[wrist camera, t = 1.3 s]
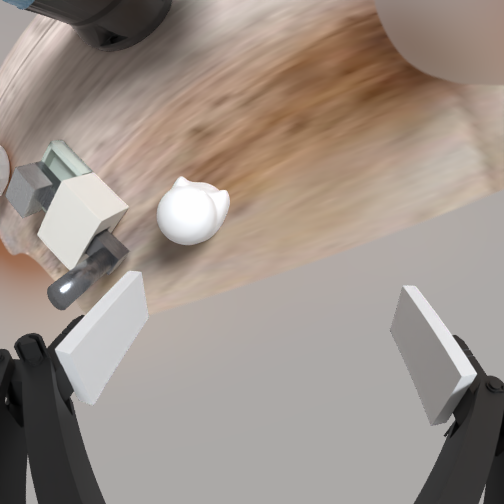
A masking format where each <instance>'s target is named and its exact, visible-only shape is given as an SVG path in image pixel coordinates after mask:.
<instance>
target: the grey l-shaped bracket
mask: <svg viewBox="0 0 504 504" xmlns="http://www.w3.org/2000/svg"><path fill="white" fill-rule="evenodd" d="M35 164H36V165H37V166H38V168H39V169H40V170H41V171H42V172H43V173H44V175H45V176H46V177H47V178H48V179H49V180H50V181H51V183H52V184H53V185H52V187H51V189H50V191H49V193H48V195H47V198H46V200H45V202H44V204H43V207H44V208H45V210H46V211H48V209H49V206H50V204H51V202H52V200H53V198H54V196H55V194H56V192H57V190H58V188H59V186H60V184H61V181H60V180H59V179H58V178H57V177H56V176H55V174H54V173H53V172H52V171H51V170H50V169H49V168H48V167H47V165H46V164H45V163H44V162H43V161H41V162H36V163H35ZM85 253H86V254H87V255H88V256H89V257H88V258H86V259H85V260H84V261H82V262H81V263H79V264H78V265H77V266H75V267H74V268H73V269H71V270H70V271H69V272H67V273H66V274H65V275H63V276H62V277H61V278H59V279H58V280H57V281H55V282H54V283H53V284H52V285H51V286H49V287H48V290H47V294H48V298H49V300H50V301H51V303H52V304H53V305H54V306H55V307H56V308H57V309H59V310H65V309H66V308H67V307H68V306H69V305H70V304H71V303H73V302H74V301H75V300H76V299H77V298H78V297H79V296H80V295H81V294H82V293H84V292H85V291H86V290H87V289H88V288H89V287H90V286H91V285H93V284H94V283H95V282H96V281H97V280H98V279H99V278H100V277H102V276H103V275H104V274H105V273H107V274H108V275H109V274H110V273H112V272H113V271H114V270H115V269H116V268H117V267H118V266H119V265H120V264H121V262H122V261H123V260H124V258H125V257H126V256H127V254H128V253H129V250H128V249H127V248H126V247H125V246H124V245H123V244H122V243H121V242H120V241H119V240H117V239H116V238H115V237H114V236H113V235H112V234H111V233H110V232H109V231H108V230H107V229H105V230H103V231H101V232H99V233H98V234H96V235H95V236H94V238H93V239H92V241H91V243H90V244H89V246H88V248H87V249H86V251H85Z"/></svg>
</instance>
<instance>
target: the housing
mask: <svg viewBox="0 0 504 504" xmlns="http://www.w3.org/2000/svg"><path fill="white" fill-rule="evenodd" d="M128 208H129V207H128V206H127V205H126V204H125V203H124V202H123V201H122V200H121V199H120V198H119V197H118V196H117V195H116V194H115V193H114V192H113V191H112V190H111V189H110V188H109V187H108V186H107V185H106V184H105V183H104V182H103V181H102V180H101V179H100V178H99V177H98V176H97V175H96V174H95V173H94V172H93V173H89V174H85V175H81V176H77V177H73V178H70V179H66V180H63V181H62V182H61V184H60V186H59V188H58V190H57V192H56V194H55V196H54V198H53V200H52V202H51V204H50V206H49V209H48V211H47V213H46V215H45V218H44V220H43V222H42V224H41V227H40V229H39V232H38V234H37V235H38V236H39V238H40V239H41V240H42V241H43V242H44V243H45V244H46V246H47V247H48V248H49V249H50V250H51V251H52V252H53V253H54V254H55V255H56V257H57V258H58V259H59V260H60V261H61V262H62V263H63V264H64V265H65V266H66V267H67V268H68V269H69V270H71V269H73V268H74V267H75V266H77V265H78V264H79V263H81V262H82V261H84V260H85V259H86V258H88V257H89V256H88V255H87V254H86V253H85V251H86V249H87V248H88V246H89V244H90V243H91V241H92V239H93V238H94V236H95V235H96V234H98V233H99V232H101V231H103V230H105V229H107V230H108V231H109V232H110V233H112V231H113V230H114V228H115V227H116V225H117V224H118V222H119V221H120V219H121V218H122V216H123V215H124V213H125V212H126V211H127V209H128Z"/></svg>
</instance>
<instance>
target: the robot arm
mask: <svg viewBox="0 0 504 504" xmlns="http://www.w3.org/2000/svg"><path fill="white" fill-rule="evenodd" d="M3 1H5V2H7V3H10V4H12V5H15V6H17V8H19V9H22V10H23V9H24V10H27V11H31V12H34V13H37V14H41V15H44V16H47V17H50V18H53V19H56V20H59V21H61V22H64V23H67V24H70V25H71V26H72V27H73V29H74V30H75V31H76V33H77V34H78V35H79V37H80V38H81V39H82V40H83V41H84V42H85V43H86V44H88V45H89V46H91V47H94V48H97V49H99V50H103V51H116V50H121V49H124V48H127V47H130V46H132V45H134V44H136V43H138V42H139V41H141V40H142V39H144V38H145V37H147V36H148V35H149V34H150V33H152V32H153V31H154V30H155V29H156V28H157V27H158V26H159V24H160V23H161V22H162V21H163V19H164V18H165V16H166V15H167V13H168V11H169V9H170V7H171V4H172V0H3ZM148 318H149V315H148V309H147V304H146V298H145V292H144V285H143V279H142V272H137V271H128V272H127V273H126V274H125V275H124V276H123V277H122V278H121V279H120V280H119V281H118V282H117V283H116V284H115V285H114V286H113V287H112V288H111V289H110V290H109V291H108V292H107V293H106V294H105V295H104V296H103V297H102V298H101V299H100V300H99V301H98V302H97V304H96V305H95V306H94V307H93V308H92V309H91V310H90V311H89V312H88V313H87V314H86V315H81V316H79V317H78V318H76V319H74V320H73V321H72V322H71V323H70V324H69V325H68V326H67V328H65V329H64V330H63V331H62V334H60V335H59V336H58V337H57V338H56V339H55V340H54V341H53V342H52V343H51V345H50V346H49V347H48V348H46V346H45V343H44V341H43V339H42V336H40V335H39V334H36V333H31V334H26V335H24V336H22V337H21V338H19V339H18V340H17V342H16V343H15V345H14V348H15V350H16V352H17V354H18V356H19V358H20V360H18V359H12V357H11V355H10V353H9V351H8V350H6V349H0V504H26V469H27V455H28V458H29V464H30V469H31V474H32V479H33V484H34V488H35V492H36V496H37V500H38V504H106V503H105V501H104V499H103V496H102V494H101V491H100V489H99V486H98V484H97V481H96V478H95V476H94V473H93V471H92V468H91V465H90V462H89V459H88V456H87V453H86V450H85V447H84V443H83V440H82V436H81V433H80V430H79V426H78V422H77V418H76V414H75V410H74V406H73V402H72V400H71V398H70V396H71V394H72V393H73V391H74V392H75V394H76V396H77V398H78V400H79V401H82V402H85V403H88V404H91V405H94V404H95V402H96V401H97V399H98V397H99V396H100V394H101V392H102V391H103V389H104V387H105V386H106V384H107V382H108V381H109V379H110V377H111V376H112V374H113V373H114V371H115V369H116V368H117V366H118V365H119V363H120V361H121V360H122V358H123V356H124V355H125V353H126V352H127V350H128V349H129V347H130V345H131V344H132V342H133V341H134V339H135V338H136V336H137V335H138V333H139V331H140V330H141V328H142V327H143V325H144V324H145V322H146V321H147V319H148ZM390 332H391V334H392V336H393V338H394V340H395V342H396V344H397V346H398V348H399V351H400V353H401V355H402V357H403V359H404V362H405V364H406V366H407V368H408V370H409V373H410V375H411V378H412V380H413V382H414V384H415V387H416V389H417V392H418V394H419V397H420V399H421V401H422V404H423V406H424V409H425V412H426V414H427V417H428V419H429V422H430V424H431V426H433V425H437V424H442V423H446V422H447V420H448V419H449V418H450V416H451V414H452V413H453V414H454V417H455V419H456V420H455V421H454V423H453V424H452V425H451V426H450V428H449V429H448V431H447V432H446V433H445V435H444V436H445V437H446V436H447V434H448V436H447V438H446V441H445V443H444V445H443V448H442V450H441V452H440V454H439V457H438V459H437V461H436V463H435V465H434V467H433V469H432V471H431V473H430V475H429V477H428V479H427V481H426V483H425V485H424V487H423V488H422V490H421V492H420V494H419V495H418V497H417V499H416V501H415V502H414V504H478V503H479V501H480V498H481V495H482V492H483V490H484V487H485V484H486V488H485V496H484V503H483V504H504V383H503V382H502V381H501V380H500V379H498V378H497V377H494V376H487V375H486V373H485V372H484V371H483V369H482V367H481V366H480V364H479V363H478V361H477V360H476V359H475V357H474V356H473V354H472V352H471V351H470V350H469V348H468V346H467V345H466V344H465V342H464V341H463V340H462V339H460V338H459V337H458V336H456V335H451V333H450V332H449V330H448V329H447V328H446V326H445V325H444V324H443V322H442V321H441V319H440V318H439V316H438V315H437V314H436V312H435V311H434V310H433V308H432V307H431V306H430V304H429V303H428V302H427V300H426V299H425V298H424V296H423V295H422V294H421V293H420V291H419V290H418V289H417V287H416V286H402V290H401V294H400V298H399V301H398V305H397V308H396V312H395V315H394V319H393V322H392V326H391V329H390ZM5 398H7V401H6V403H5Z"/></svg>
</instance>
